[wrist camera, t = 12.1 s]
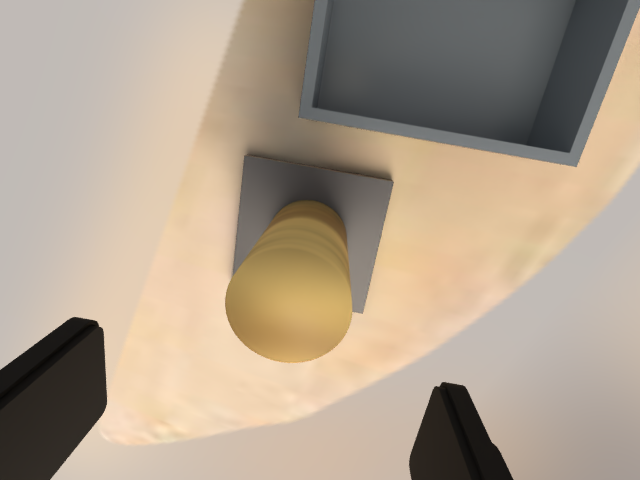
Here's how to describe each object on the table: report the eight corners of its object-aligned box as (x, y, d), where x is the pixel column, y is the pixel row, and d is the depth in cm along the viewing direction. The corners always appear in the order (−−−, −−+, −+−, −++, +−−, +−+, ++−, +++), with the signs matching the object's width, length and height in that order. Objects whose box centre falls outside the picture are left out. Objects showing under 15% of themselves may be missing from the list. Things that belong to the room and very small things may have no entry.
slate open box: (334, -69, 20) (333, -132, 15) (590, -24, 20) (670, -72, 15) (306, 119, 23) (298, 117, 18) (527, 158, 23) (576, 166, 18)
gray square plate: (247, 154, 24) (244, 155, 23) (391, 180, 24) (393, 181, 23) (234, 285, 27) (231, 290, 26) (362, 308, 27) (362, 313, 26)
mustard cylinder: (273, 193, 24) (230, 238, 14) (353, 207, 24) (364, 261, 14) (264, 267, 25) (220, 351, 16) (338, 280, 25) (339, 372, 16)
